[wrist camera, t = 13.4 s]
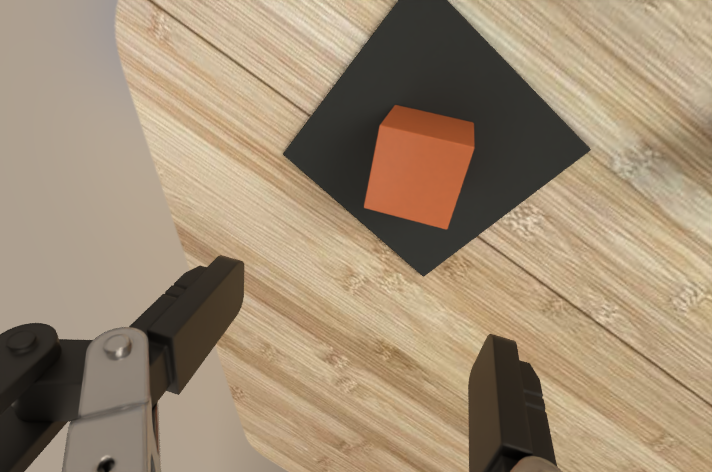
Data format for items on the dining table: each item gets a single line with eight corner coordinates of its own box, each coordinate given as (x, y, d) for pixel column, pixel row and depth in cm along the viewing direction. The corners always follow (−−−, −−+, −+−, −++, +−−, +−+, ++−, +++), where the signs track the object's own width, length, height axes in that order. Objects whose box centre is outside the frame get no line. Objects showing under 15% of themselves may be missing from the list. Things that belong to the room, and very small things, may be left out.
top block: (379, 177, 28) (363, 208, 23) (394, 104, 25) (379, 124, 21) (450, 195, 27) (447, 230, 23) (474, 122, 24) (474, 147, 20)
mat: (284, 152, 29) (282, 154, 29) (420, -28, 22) (419, -29, 21) (423, 274, 31) (423, 277, 31) (589, 148, 24) (591, 150, 24)
